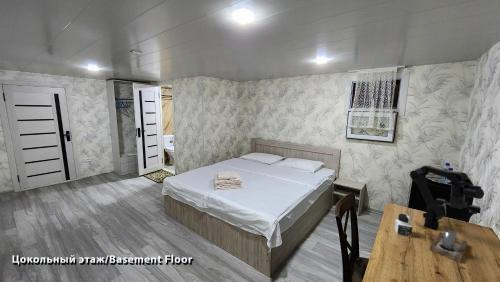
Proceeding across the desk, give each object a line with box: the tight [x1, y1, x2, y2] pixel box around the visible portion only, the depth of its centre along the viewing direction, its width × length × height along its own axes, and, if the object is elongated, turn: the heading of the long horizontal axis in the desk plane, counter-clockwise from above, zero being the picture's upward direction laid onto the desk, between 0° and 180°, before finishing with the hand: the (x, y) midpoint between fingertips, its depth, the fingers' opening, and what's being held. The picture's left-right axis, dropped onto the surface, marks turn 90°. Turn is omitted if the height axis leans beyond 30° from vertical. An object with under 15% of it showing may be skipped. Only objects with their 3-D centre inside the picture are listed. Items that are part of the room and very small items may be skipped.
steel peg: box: [442, 229, 457, 252], centre depth 113 cm, size 4×4×12 cm
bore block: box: [429, 231, 469, 264], centre depth 118 cm, size 12×22×2 cm, turn 127°
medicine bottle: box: [394, 213, 413, 238], centre depth 131 cm, size 7×7×12 cm
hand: (455, 219), depth 123 cm, fingers open, 9 cm apart
